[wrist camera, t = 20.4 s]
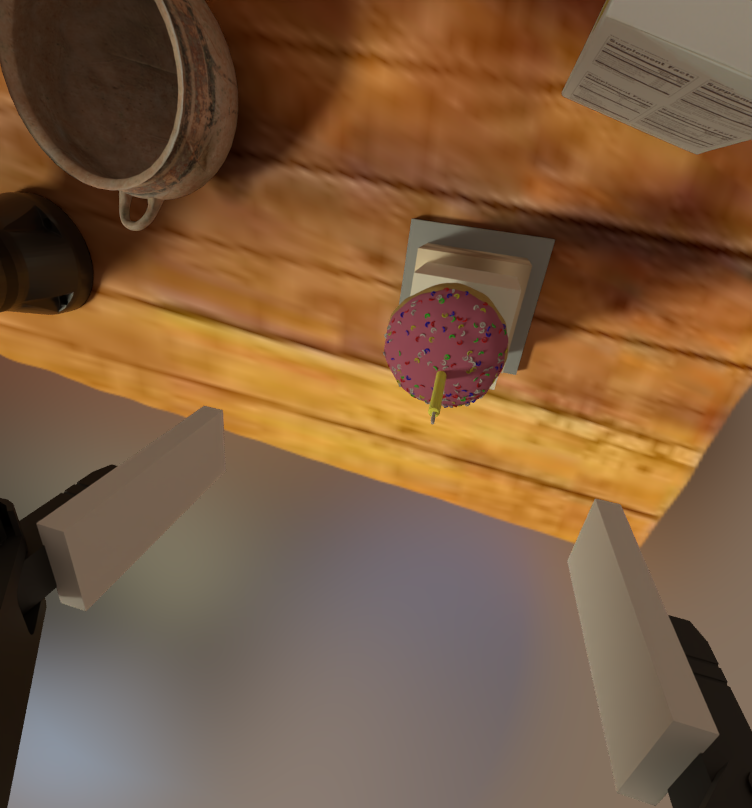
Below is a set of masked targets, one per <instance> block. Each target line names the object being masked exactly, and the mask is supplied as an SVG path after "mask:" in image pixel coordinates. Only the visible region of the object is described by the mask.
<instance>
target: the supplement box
mask: <svg viewBox="0 0 752 808" xmlns="http://www.w3.org/2000/svg"><path fill="white" fill-rule="evenodd" d="M562 96H564V97H566V98H568V99H570V100H572V101H575V102H577V103H579V104H581V105H584V106H586V107H588V108H591V109H593V110H595V111H597V112H600V113H602V114H604V115H606V116H609V117H611V118H613V119H616V120H618V121H620V122H622V123H625V124H627V125H629V126H632V127H634V128H636V129H638V130H641V131H643V132H645V133H647V134H650V135H652V136H654V137H657V138H659V139H661V140H664V141H666V142H668V143H671V144H673V145H675V146H678V147H680V148H682V149H685V150H687V151H689V152H692V153H694V154H700V153H703V152H707V151H710V150H713V149H717V148H721V147H725V146H729V145H732V144H736V143H740V142H743V141H747V140H751V139H752V0H606V2H605V4H604V6H603V8H602V10H601V12H600V14H599V16H598V18H597V21H596V23H595V25H594V27H593V29H592V31H591V33H590V35H589V37H588V39H587V41H586V44H585V46H584V48H583V50H582V52H581V54H580V56H579V58H578V60H577V62H576V64H575V66H574V68H573V70H572V72H571V74H570V76H569V78H568V80H567V82H566V84H565V87H564V89H563V91H562Z"/></svg>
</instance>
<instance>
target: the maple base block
mask: <svg viewBox="0 0 752 808" xmlns="http://www.w3.org/2000/svg"><path fill="white" fill-rule="evenodd" d="M426 262H431V263H437V264H443V265H449V266H455V267H461V268H467V269H473V270H480V271H486V272H492V273H498V274H504V275H510V276H516V277H518V281H519V284H520V288H521V294H520V297H519V301H518V305H517V308H516V312H515V316H514V319H513V323H512V326H511V330H510V334H509V337H508V352H509V348H510V345H511V341H512V338H513V334H514V330H515V327H516V323H517V319H518V316H519V312H520V309H521V305H522V301H523V298H524V294H525V290H526V287H527V283H528V279H529V276H530V272H531V269H532V265H531V263H530V261H529V260H528V258H522V257H516V256H509V255H503V254H496V253H490V252H483V251H477V250H470V249H464V248H457V247H451V246H444V245H438V244H431V243H427V244H425V245H423V246H421V247H419V248H418V251H417V258H416V264H415V271H416V270H418V269H419V268H420V267H421V266H423V265H424V264H425V263H426ZM415 271H414V272H415ZM504 367H505V365H504ZM504 367H503V370H504ZM503 370H502V372H501V373H503Z"/></svg>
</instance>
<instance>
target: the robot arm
mask: <svg viewBox="0 0 752 808" xmlns="http://www.w3.org/2000/svg"><path fill="white" fill-rule="evenodd" d="M92 282H93V270H92V263H91V259H90V255H89V252H88V249H87V246H86V244H85V242H84V240H83V238H82V236H81V234H80V232H79V231H78V229H77V227H76V226H75V225H74V223H73V222H72V221H71V219H70V218H69V217H68V216H67V215H66V214H65V213H64V212H63V211H62V210H61V209H60V208H59V207H58V206H56V205H55V204H54V203H52V202H51V201H49V200H48V199H46V198H44V197H42V196H39V195H36V194H32V193H14V192H9V193H2V194H0V312H4V311H12V312H24V313H35V314H46V315H54V314H60V313H64V312H69V311H72V310H75V309H77V308H79V307H80V306H82V305H83V304H84V303H85V301H86V300H87V299H88V297H89V295H90V292H91V288H92ZM225 471H226V468H225V446H224V425H223V410H220V409H216V408H211V407H207V406H203V407H202V408H200V409H199V410H197V411H196V412H195V413H193V414H192V415H190V416H189V417H187V418H186V419H185V420H183V421H182V422H180V423H179V424H178V425H176V426H175V427H173V428H172V429H171V430H169V431H167V432H166V433H165V434H163V435H162V436H160V437H159V438H157V439H156V440H155V441H153V442H152V443H150V444H149V445H147V446H146V447H145V448H143V449H142V450H141V451H139V452H137V453H136V454H135V455H133V456H132V457H130V458H129V459H127V460H126V461H125V462H123V463H122V464H120V465H119V466H115V465H109V466H107V467H104V468H101V469H99V470H96V471H94V472H92V473H90V474H89V475H88V476H86V477H85V478H83V479H81V480H80V481H78V482H77V484H76V485H72V486H71V487H70V488H68V489H67V490H65V492H64V493H60V494H59V495H58V496H56V497H55V498H53V499H52V500H50V501H49V502H47V503H46V504H44V505H43V506H41V507H40V508H38V509H37V510H35V511H34V512H32V513H31V514H29V515H28V516H27V517H25V518H23V519H22V520H20V521H19V520H18V517H17V514H16V511H15V508H14V505H13V503H11V502H10V501H9V500H7V499H2V498H0V808H7V806H8V801H9V796H10V791H11V786H12V781H13V776H14V770H15V765H16V760H17V755H18V750H19V745H20V739H21V735H22V729H23V724H24V719H25V714H26V709H27V703H28V699H29V693H30V688H31V684H32V678H33V673H34V668H35V663H36V658H37V653H38V648H39V642H40V638H41V632H42V627H43V622H44V617H45V612H46V600H45V597H46V596H47V595H48V594H49V593H50V592H51V591H53V590H54V589H55V588H57V591H58V594H59V597H60V601H61V603H64V604H66V605H69V606H72V607H75V608H78V609H81V610H84V611H87V610H88V609H89V608H90V606H91V605H93V604H94V603H95V602H96V601H97V599H99V598H100V596H102V595H103V594H104V593H105V591H106V590H108V588H109V587H111V585H112V584H113V583H115V582H116V581H117V579H119V578H120V576H122V575H123V574H124V572H126V571H127V570H128V568H130V567H131V566H132V564H134V562H135V561H136V560H137V559H138V558H139V557H140V556H141V555H142V554H143V553H144V552H145V551H146V550H147V549H148V548H149V547H150V546H151V545H152V544H153V543H154V542H155V541H156V540H157V539H158V538H159V537H160V536H161V535H162V534H163V533H164V532H165V531H166V530H167V529H168V528H169V527H170V526H171V525H172V524H173V523H174V522H175V521H176V520H177V519H178V518H179V517H180V516H181V515H182V514H183V513H184V512H185V511H186V510H187V509H188V508H189V507H190V506H191V505H192V504H193V503H194V502H195V501H196V500H197V499H198V498H199V497H200V496H201V495H202V494H203V493H204V492H205V491H206V490H207V489H208V488H209V487H210V486H211V485H212V484H213V483H214V482H215V481H216V480H217V479H218V478H219V477H220V476H221V475H222V474H223V473H224V472H225ZM568 566H569V570H570V575H571V580H572V584H573V589H574V594H575V599H576V603H577V608H578V613H579V618H580V622H581V627H582V632H583V636H584V641H585V645H586V650H587V655H588V660H589V664H590V669H591V674H592V679H593V683H594V688H595V693H596V698H597V702H598V707H599V712H600V716H601V721H602V726H603V730H604V735H605V739H606V745H607V749H608V754H609V759H610V763H611V768H612V773H613V777H614V782H615V787H616V792H617V793H619V794H622V795H625V796H628V797H631V798H634V799H637V800H640V801H642V802H645V803H648V804H651V805H654V806H656V805H657V804H658V803H659V802H660V801H661V799H662V798H663V797H664V796H665V795H666V794H667V793H669V796H670V800H671V803H672V806H673V808H752V731H751V729H750V727H749V725H748V723H747V721H746V719H745V717H744V715H743V713H742V711H741V708H740V706H739V705H738V702H737V700H736V698H735V696H734V694H733V692H732V690H731V688H730V687H729V686H727V680H726V678H725V676H724V674H723V672H722V670H721V668H719V667H718V662H717V660H716V658H715V656H714V654H713V652H712V650H711V648H710V646H709V644H708V642H707V641H706V640H705V638H704V637H703V636H702V635H701V634H700V633H699V631H698V630H697V629H696V628H695V627H694V626H693V624H692V623H691V622H690V621H688V620H684V619H680V618H677V617H673V616H670V615H668V614H667V612H666V609H665V607H664V604H663V602H662V600H661V597H660V595H659V593H658V590H657V588H656V586H655V584H654V581H653V579H652V577H651V574H650V572H649V570H648V567H647V565H646V563H645V560H644V558H643V556H642V553H641V551H640V549H639V546H638V544H637V542H636V539H635V537H634V535H633V532H632V530H631V528H630V525H629V523H628V521H627V518H626V516H625V514H624V511H623V509H622V507H621V505H620V504H616V503H612V502H608V501H603V500H599V499H595V500H594V502H593V505H592V507H591V509H590V511H589V514H588V516H587V518H586V520H585V523H584V525H583V527H582V529H581V532H580V534H579V536H578V538H577V540H576V543H575V545H574V547H573V550H572V552H571V554H570V557H569V558H568Z"/></svg>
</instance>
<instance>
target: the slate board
mask: <svg viewBox="0 0 752 808" xmlns="http://www.w3.org/2000/svg"><path fill="white" fill-rule="evenodd" d="M554 242H555V239H550V238H543V237H537V236H530V235H523V234H516V233H509V232H502V231H495V230H488V229H481V228H475V227H468V226H461V225H454V224H447V223H440V222H433V221H426V220H420V219H412V220H411V227H410V234H409V240H408V247H407V254H406V261H405V268H404V275H403V282H402V288H401V295H400V302H399V305H400V304H401V303H402V302H403V301H404V300H405V299H406V298H408V297H410V294H411V288H412V281H413V275H414V271H415V264H416V258H417V251H418V248H419V247H421V246H423V245H425V244H427V243H431V244H438V245H444V246H451V247H457V248H464V249H470V250H477V251H483V252H490V253H496V254H503V255H509V256H516V257H522V258H528V260H529V261H530V263H531V265H532V269H531V272H530V276H529V279H528V283H527V287H526V290H525V294H524V298H523V301H522V305H521V309H520V312H519V316H518V319H517V323H516V327H515V330H514V334H513V338H512V341H511V345H510V348H509V352H508V356H507V360H506V363H505V367H504V370H503V372H504V373H509V374H514V375H516V373H517V369H518V366H519V362H520V359H521V356H522V352H523V349H524V345H525V342H526V338H527V335H528V332H529V328H530V325H531V321H532V318H533V314H534V311H535V307H536V304H537V301H538V297H539V294H540V290H541V287H542V283H543V280H544V277H545V273H546V270H547V266H548V263H549V259H550V256H551V252H552V249H553V246H554Z"/></svg>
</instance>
